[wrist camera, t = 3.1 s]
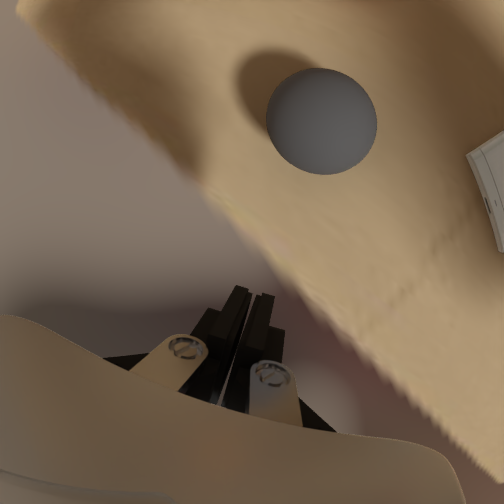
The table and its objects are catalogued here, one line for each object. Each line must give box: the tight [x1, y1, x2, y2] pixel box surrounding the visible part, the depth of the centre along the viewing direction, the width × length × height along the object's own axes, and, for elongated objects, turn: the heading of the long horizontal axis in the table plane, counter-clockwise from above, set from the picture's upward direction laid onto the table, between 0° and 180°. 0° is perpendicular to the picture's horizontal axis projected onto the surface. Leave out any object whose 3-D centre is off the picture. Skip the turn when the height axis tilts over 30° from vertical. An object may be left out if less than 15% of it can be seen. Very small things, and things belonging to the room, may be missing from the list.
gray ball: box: [266, 68, 377, 175], centre depth 14 cm, size 6×6×6 cm
